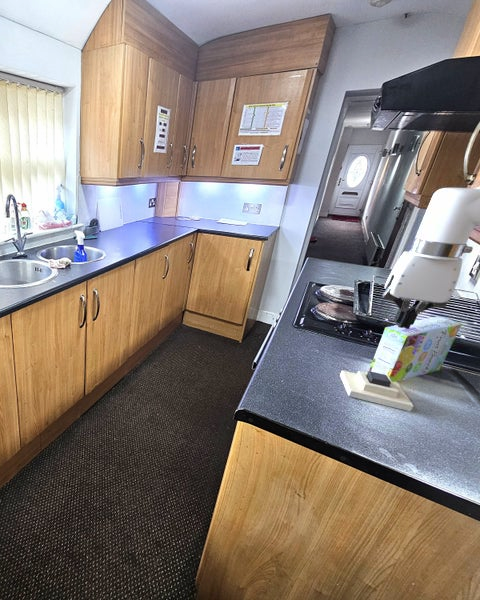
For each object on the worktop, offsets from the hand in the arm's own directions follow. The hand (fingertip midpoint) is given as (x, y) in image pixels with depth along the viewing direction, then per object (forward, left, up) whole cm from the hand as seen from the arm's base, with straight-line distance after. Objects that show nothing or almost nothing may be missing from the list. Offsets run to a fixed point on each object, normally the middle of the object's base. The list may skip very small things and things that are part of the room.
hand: (401, 325), depth 76 cm
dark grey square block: (0, 0, -16) cm, 16 cm away
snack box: (-10, -15, -19) cm, 26 cm away
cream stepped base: (0, 0, -19) cm, 19 cm away
